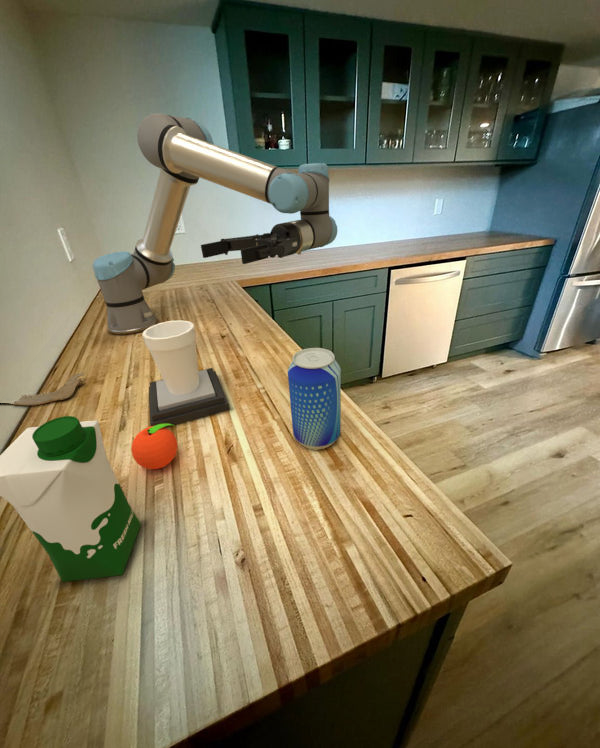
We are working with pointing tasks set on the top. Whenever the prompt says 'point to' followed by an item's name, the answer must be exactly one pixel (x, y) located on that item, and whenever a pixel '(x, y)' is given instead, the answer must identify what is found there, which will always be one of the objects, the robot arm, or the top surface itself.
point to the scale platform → (173, 400)
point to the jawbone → (52, 393)
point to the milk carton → (70, 498)
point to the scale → (188, 405)
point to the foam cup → (174, 354)
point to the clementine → (154, 446)
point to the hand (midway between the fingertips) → (221, 254)
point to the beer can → (315, 397)
